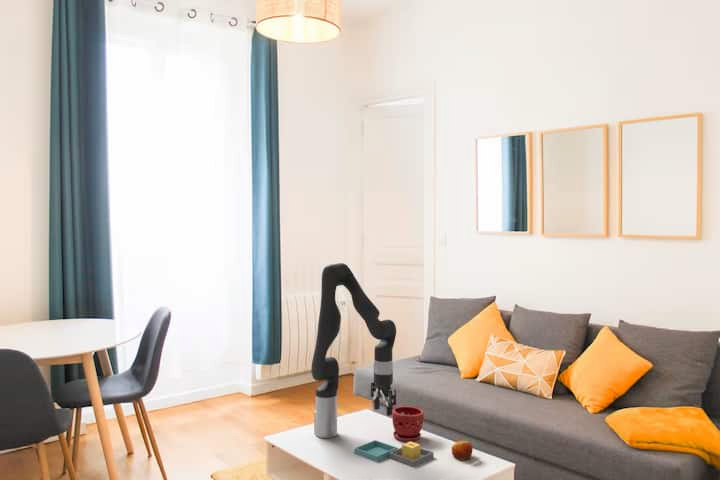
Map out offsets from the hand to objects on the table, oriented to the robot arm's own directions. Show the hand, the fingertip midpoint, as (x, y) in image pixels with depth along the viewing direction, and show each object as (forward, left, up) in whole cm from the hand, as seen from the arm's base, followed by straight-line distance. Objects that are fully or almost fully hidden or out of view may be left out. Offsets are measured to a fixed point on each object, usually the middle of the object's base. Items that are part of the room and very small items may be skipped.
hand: (383, 412), depth 236 cm
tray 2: (+10, +5, -17) cm, 20 cm away
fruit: (+24, +19, -17) cm, 35 cm away
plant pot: (-5, +21, -17) cm, 28 cm away
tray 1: (-3, -1, -17) cm, 17 cm away
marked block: (+10, +5, -17) cm, 20 cm away
